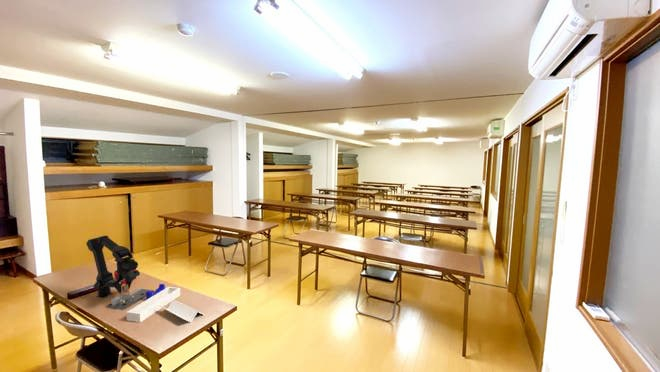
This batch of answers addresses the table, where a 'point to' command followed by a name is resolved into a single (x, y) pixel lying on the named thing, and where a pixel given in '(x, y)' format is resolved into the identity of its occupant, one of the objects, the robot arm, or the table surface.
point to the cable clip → (149, 293)
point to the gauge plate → (128, 299)
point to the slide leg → (125, 291)
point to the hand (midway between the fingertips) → (124, 291)
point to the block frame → (152, 304)
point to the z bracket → (182, 310)
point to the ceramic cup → (117, 278)
